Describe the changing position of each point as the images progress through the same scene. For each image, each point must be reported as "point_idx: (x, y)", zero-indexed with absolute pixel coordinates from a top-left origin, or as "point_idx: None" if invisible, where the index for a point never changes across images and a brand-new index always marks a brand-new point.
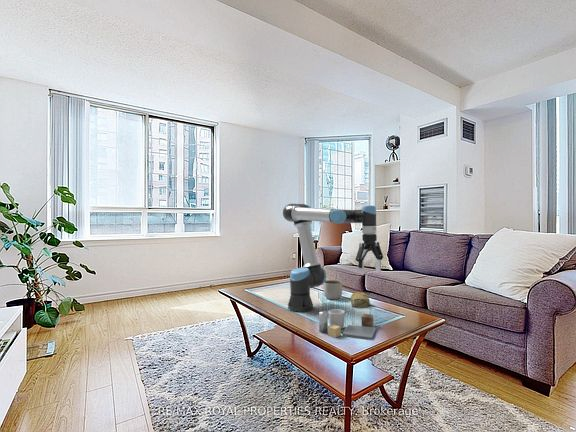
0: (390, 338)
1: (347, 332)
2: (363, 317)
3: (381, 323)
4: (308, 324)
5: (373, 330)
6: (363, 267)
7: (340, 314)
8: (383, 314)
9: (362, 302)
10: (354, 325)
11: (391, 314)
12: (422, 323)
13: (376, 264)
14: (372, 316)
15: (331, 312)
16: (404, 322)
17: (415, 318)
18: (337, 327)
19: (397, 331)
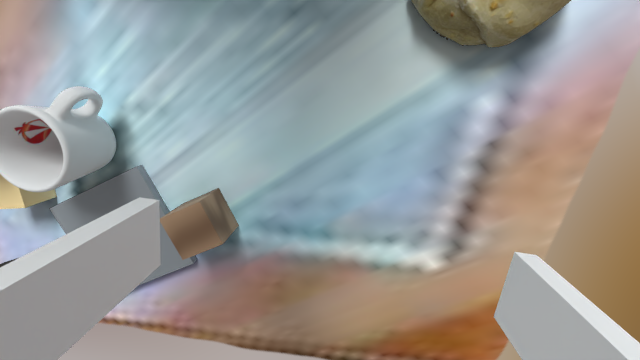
0: (169, 326)
1: (72, 215)
2: (165, 226)
3: (274, 240)
4: (17, 12)
5: (162, 271)
6: (73, 330)
7: (22, 188)
8: (397, 186)
9: (453, 22)
10: (147, 191)
11: (423, 213)
12: (387, 348)
13: (586, 351)
14: (198, 253)
15: (28, 114)
16: (352, 298)
17: (434, 310)
18: (8, 206)
19: (241, 317)
